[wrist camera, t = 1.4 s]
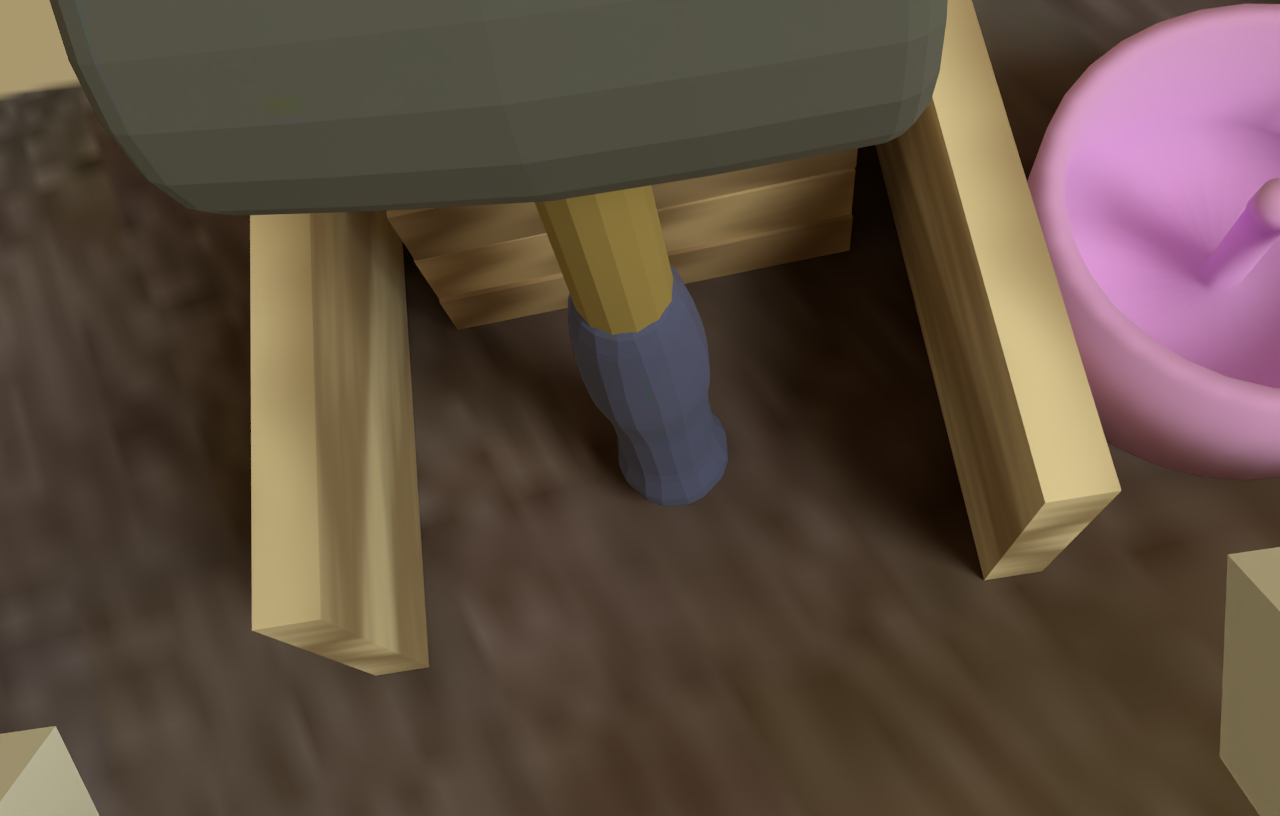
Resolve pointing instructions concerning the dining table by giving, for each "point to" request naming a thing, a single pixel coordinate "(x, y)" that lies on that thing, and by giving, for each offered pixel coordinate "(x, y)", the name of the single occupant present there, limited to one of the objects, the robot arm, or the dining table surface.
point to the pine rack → (383, 408)
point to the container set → (1175, 238)
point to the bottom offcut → (686, 261)
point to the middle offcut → (677, 222)
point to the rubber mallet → (515, 139)
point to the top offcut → (506, 222)
